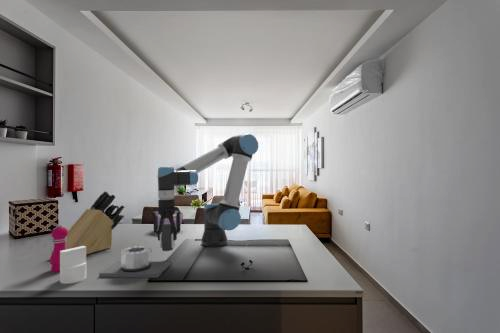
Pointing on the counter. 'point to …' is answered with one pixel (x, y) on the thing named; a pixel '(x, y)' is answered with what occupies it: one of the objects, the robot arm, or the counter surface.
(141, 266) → the light gray faceted ring
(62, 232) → the pepper mill
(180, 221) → the bowl of food
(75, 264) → the cylinder with rectangular tab
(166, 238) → the dark grey tall cylinder
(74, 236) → the knife block
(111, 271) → the grey rectangular board
